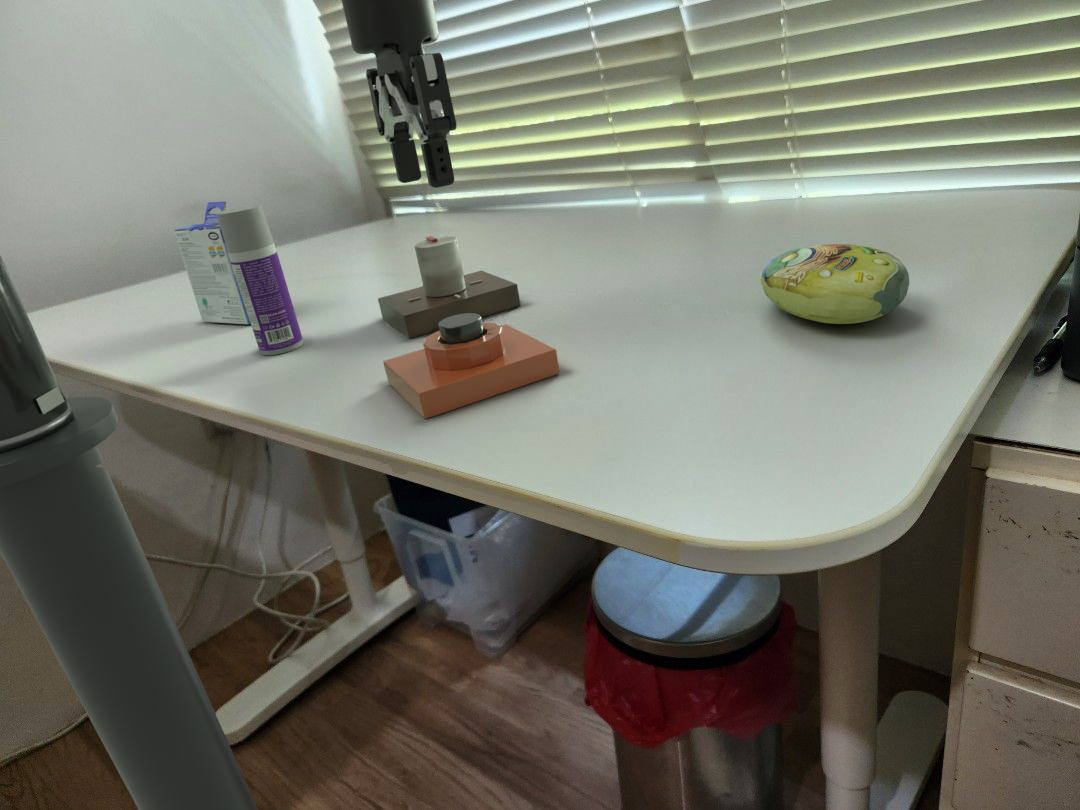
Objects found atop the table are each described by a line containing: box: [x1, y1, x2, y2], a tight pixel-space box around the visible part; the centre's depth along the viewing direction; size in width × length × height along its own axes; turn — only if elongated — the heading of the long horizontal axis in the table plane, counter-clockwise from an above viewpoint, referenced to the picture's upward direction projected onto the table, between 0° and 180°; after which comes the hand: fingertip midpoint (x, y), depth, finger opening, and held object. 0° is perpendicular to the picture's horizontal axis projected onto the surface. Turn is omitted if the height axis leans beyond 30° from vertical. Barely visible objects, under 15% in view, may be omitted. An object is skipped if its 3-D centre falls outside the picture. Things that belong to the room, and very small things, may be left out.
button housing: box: [382, 321, 561, 420], centre depth 63 cm, size 12×10×4 cm
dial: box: [414, 235, 466, 297], centre depth 82 cm, size 5×5×6 cm
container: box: [216, 203, 304, 356], centre depth 79 cm, size 5×5×15 cm
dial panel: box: [377, 270, 521, 339], centre depth 83 cm, size 13×10×3 cm
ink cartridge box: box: [173, 200, 251, 325], centre depth 94 cm, size 10×6×14 cm, turn 58°
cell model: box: [760, 243, 910, 325], centre depth 65 cm, size 11×8×15 cm
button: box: [438, 313, 484, 345], centre depth 62 cm, size 4×4×2 cm
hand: (425, 183), depth 69 cm, fingers open, 8 cm apart
